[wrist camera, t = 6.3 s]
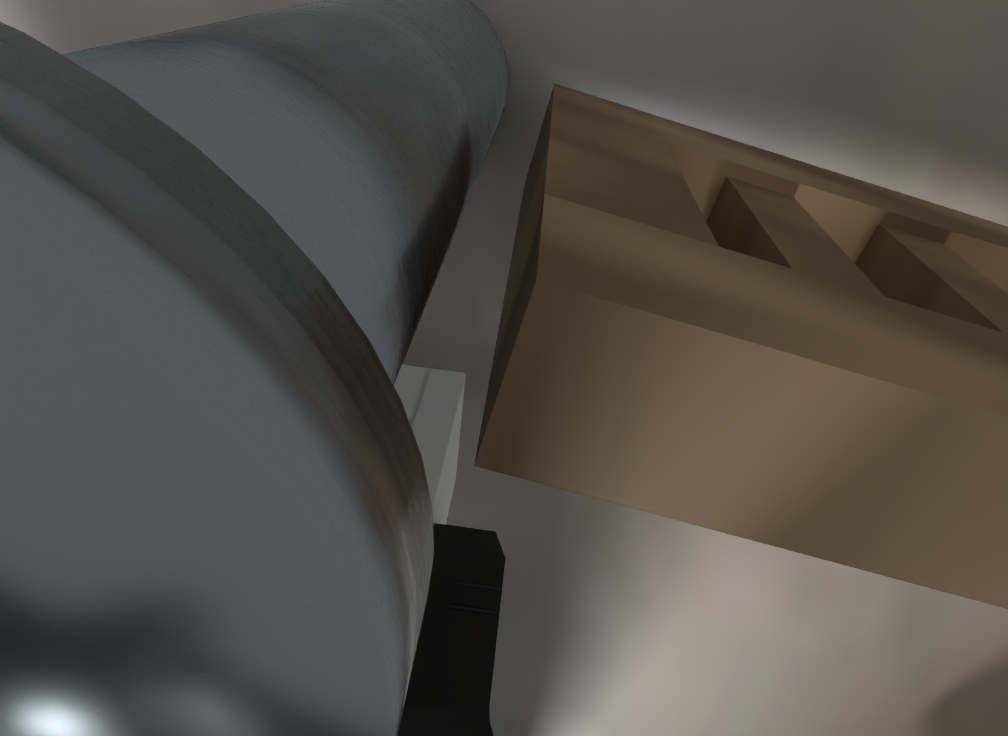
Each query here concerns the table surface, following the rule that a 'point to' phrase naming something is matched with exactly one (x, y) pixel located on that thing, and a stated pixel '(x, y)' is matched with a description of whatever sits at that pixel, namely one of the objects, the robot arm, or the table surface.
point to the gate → (756, 349)
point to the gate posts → (225, 364)
